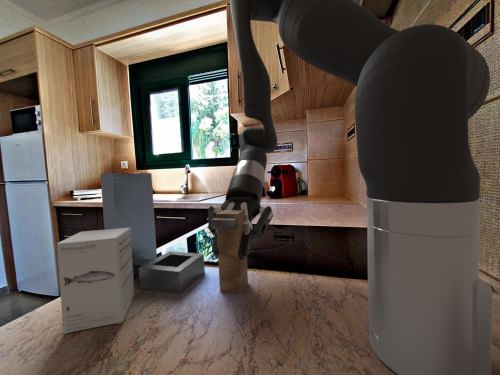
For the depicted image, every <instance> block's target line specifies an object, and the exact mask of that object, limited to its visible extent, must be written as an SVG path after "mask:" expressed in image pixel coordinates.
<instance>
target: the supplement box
mask: <svg viewBox="0 0 500 375" xmlns="http://www.w3.org/2000/svg"><path fill="white" fill-rule="evenodd" d="M56 250H57V264H58V266H57V267H58V279H59V292H60V303H61V319H62V320H61V321H62V333H63V334H64V335H67V334H71V333H75V332H78V331H84V330H88V329H94V328H100V327H104V326H109V325H117V324H121V323H123V321H124V320H125V317H126V316H127V314H128V311H129V309H130V307H131V305H132V303H133V300H134V298H135V290H134V289H135V284H134V280H133V264H132V249H131V228H119V229H107V230H105V229H96V230H87V231H86V230H85V231H80V232H78V233H76V234H73V235H71V236H69V237H67V238H65V239H63V240H61V241H59V242H57V243H56Z"/></svg>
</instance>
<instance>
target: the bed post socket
mask: <svg viewBox="0 0 500 375" xmlns="http://www.w3.org/2000/svg"><path fill="white" fill-rule="evenodd" d="M99 175H100V187H101V188H100V189H101V200H102V202H101V203H102V213H103V216H102V217H103V224H104V225H103V226H104V229H103V230H107V229H119V228H131V249H132V264H133V281H135V280H139V287H140V289H144V290H151V291H157V292H165V293H172V294H178V295H179V294H180V295H182V293H183V292H184V291H185V290H186V289H187V288H189V287H190V286H191V285H192V284H193V283H194V282H195V281H196V280H198V279H199V278H200V277H201V276H202V275H204V273H205V270H206V269H205V254H204V253H197V252H182V251H167V252H166V253H164V254H162V255H160V256H158V252H157V239H156V237H157V236H156V224H155V207H154V192H153V179H152V178H153V176H152V172H151V173H150V172H149V173H148V172H147V173H146V172H143V173H140V172H134V173H133V172H110V173H109V172H108V173H107V172H105V173H100V174H99Z"/></svg>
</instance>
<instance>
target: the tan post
mask: <svg viewBox="0 0 500 375" xmlns="http://www.w3.org/2000/svg"><path fill="white" fill-rule="evenodd" d="M244 219H245V210H224V211H221V212H219V213H217V214H216V218H214V219H212V220H211V223H212V229H217V244H218V258H217V259H218V261H217V262H218V280H219V292H224V293H231V294H241V295H242V293H243V291H244V290H245V288H246V287H247V285H248V284H249V278H248V277H249V276H248V274H249V272H248V258H247V257H248V256H247V257H245V259H244V260H240V258H239V257H238V249H239V246H240V242H241V237H242V235H244V233H243V227H244Z"/></svg>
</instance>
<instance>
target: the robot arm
mask: <svg viewBox="0 0 500 375" xmlns="http://www.w3.org/2000/svg"><path fill="white" fill-rule="evenodd" d="M229 4H230V5H229V6H230V12H231V18H232V24H233V30H234V36H235V37H234V38H235V42H236V49H237V54H238V59H239V65H240V72H241V80H242V82H241V84H242V95H243V96H242V97H243V98H242V99H243V113H244V116H245V117H246V118H248V119H254V120H256V121H259V122H260V123H261V125H262V126H263V127H262V126H259V127H258V126H255V127H254V126H252V127H251V126H249V127H247V126H246V127H245V128H243V129H241V131H240V133H239V136H238V143H239V157H238V160H237V163H236V166H235V168H234V170H233V172H232V175H231V178H230V182H229V185H228V187H227V191H226V194H225V198H224V199H225V200H224V201H223V202H222V204H221V205H220V206H218V207H214V206H213V205H211V206H209V207H208V209H207V210H208V211H207V212H208V213H207V215H208V216H207V223H208V224H207V225H208V226H207V227H208V229H207V230H208V231H209V232H210V233H211V235H212V236H213V237H214V239H213V240H214V241H213V243H212V246H211V251H212V253H213V256H214V257H215V258H217V259H218V244H217V229H212V223H211V220H212V219H214V218H216V214H217V213H219V212H221V211H224V210H245V219H244V227H243V233H244V235H242V237H241V242H240V246H239V249H238V257H239V258H240V260H244V259H245V257H248V256H249V254H250V248H251V244H252V241H253V240H255V239H262V238H263V236H264V235H265V233H266V231H267V228H268V227H269V225H270V223H271V221H272V220H273V217H274V212H273V210H272V207H271V206H270V205H269V206H268V205H267V206H266V207H263V206H261V202H262V196H263V192H264V191H263V189H264V187H265V178H266V177H265V174H266V168H267V162H268V156H267V154H272V153H274V152H275V150H276V148H277V146H278V137H277V132H276V129H275V125H274V121H273V115H272V96H271V95H272V87H271V86H272V84H271V79H270V76H269V72H268V69H267V68H266V66H265V63H264V61H263V58H262V57H261V55H260V53H259V51H258V48H257V46H256V43H255V40H254V37H253V31H252V22H251V21H255V22H256V21H258V22H269V23H274V24H277V30H278V35H279V38H280V40H281V42H282V43H283V45H284V46H285V47H286V48H287V49H288V50H289V51H290V52H292V53H293V54H294V55H295V56H297V57H298V58H299V59H301V61H303V62H305V63H307V64H309V65H311V66H312V67H314V68H316V69H318V70H320V71H321V72H324V73H327V74H329V75H332V76H334V77H336V78H338V79H340V80H343V81H345V82H347V83H349V84H351V85H353V86H354V87H356V89H355V96H354V118H355V119H354V121H355V136H356V137H355V138H356V149H357V150H356V151H357V162H358V168H359V171H360V174H361V176H362V178H363V180H364V183H365V188H366V222H367V223H366V226H367V227H366V228H367V231H366V233H367V236H366V237H367V238H366V239H367V300H368V301H367V302H368V303H367V305H368V308H367V309H368V311H367V312H368V318H367V326H368V341H369V342H368V343H369V345H370V347H371V349H372V352H374V353H375V355H376V356H377V358H378V359H379V360H380V361H381V362H382V363H383V364H384V365H385V366H386V367H388V369H390V370H391V371H392V372H394V373H395V374H397V375H492V342H493V341H492V338H493V336H492V334H493V332H492V331H493V330H492V327H493V326H492V324H493V319H492V318H493V287H491V285H490V284H489V283H488V282H486V281H485V280H484V279H481V277H479V276H480V208H481V207H480V206H481V205H480V203H481V202H480V201H481V200H480V198H481V197H480V196H481V174H480V172H479V170H478V168H477V165H476V164H475V162H474V159H473V156H472V153H471V152H472V151H471V149H470V142H469V141H470V140H469V120H470V119H471V118H473V117H474V116H475V115H476V114H477V112H478V111H479V110H480V109H481V108H482V106H483V105H484V103H485V102H486V100H487V97H488V95H489V90H490V85H491V74H490V68H489V67H490V66H489V65H488V62H487V60H486V58H485V57H484V56H483V55H482V53H481V52H479V50H478V49H476V47H474V46H473V45H472V44H471V43H470V42H468V40H467V39H466V38H464V37H463V36H461V35H460V34H459V33H458V32H456V31H455V30H453V29H452V28H450V27H447V26H443V25H440V24H434V23H426V24H425V23H424V24H423V23H422V24H417V25H413V26H410V27H407V28H406V27H405V28H404V29H401V30H397V29H395V28H393V27H392V26H390V25H388V24H387V23H386V22H384V21H382V20H381V19H380V18H378V17H377V16H376V15H375V14H373V13H372V12H370V11H369V10H368V9H366V8H365V7H363V6H362V5H361V4H359V3H358V2H356V1H355V0H229ZM257 216H260V217H259V218H258V219H257V221H256V224H255V225H254V226H253V222H252V221H253V220H255V218H256V217H257Z"/></svg>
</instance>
